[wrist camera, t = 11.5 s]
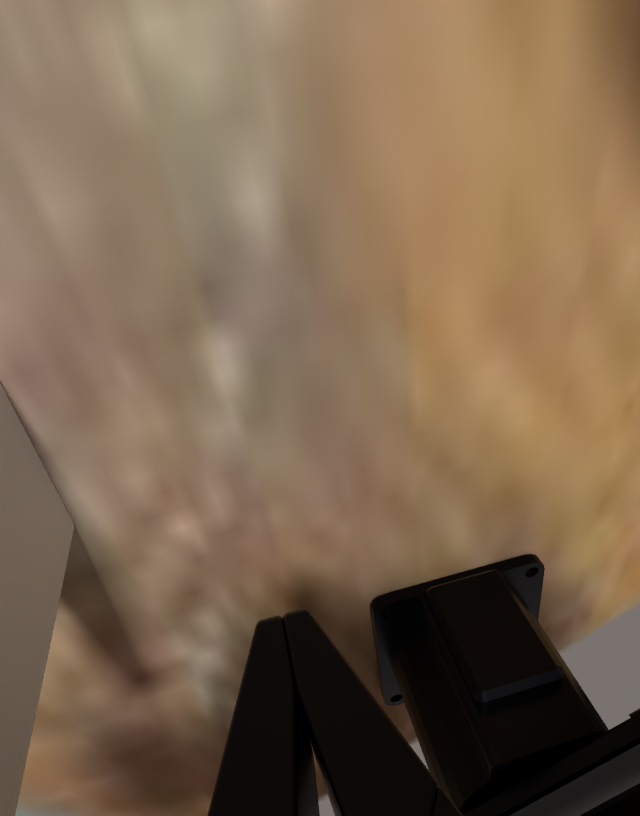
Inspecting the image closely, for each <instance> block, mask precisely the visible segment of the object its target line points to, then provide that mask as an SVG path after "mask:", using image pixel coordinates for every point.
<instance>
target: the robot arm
mask: <svg viewBox="0 0 640 816" xmlns="http://www.w3.org/2000/svg"><path fill="white" fill-rule="evenodd" d="M544 569H545V568H544V565H543V563H542V562H541V561H540V559H539V558H538V557H537V556H536V555H533V554H530V555H525V556H521V557H518V558H514V559H511V560H507V561H503V562H500V563H496V564H493V565H489V566H486V567H482V568H478V569H475V570H471V571H468V572H464V573H461V574H457V575H454V576H450V577H446V578H443V579H439V580H436V581H432V582H429V583H425V584H421V585H418V586H414V587H411V588H407V589H404V590H400V591H397V592H393V593H389V594H386V595H382V596H380V597H378V598H376V599H375V600H374V601H373V602H372V604H371V616H372V623H373V631H374V639H375V646H376V654H377V662H378V669H379V677H380V684H381V692H382V695H383V698H384V701H385V703H386V704H387V705H389V706H394V705H398V704H402V703H405V705H406V708H407V711H408V713H409V716H410V719H411V722H412V724H413V727H414V730H415V733H416V735H417V738H418V741H419V743H420V746H421V749H422V752H423V754H424V757H425V760H426V763H427V766H428V768H429V770H428V769H427V768H426V766H425V765H424V764H423V762H422V761H421V760H420V758H419V757H418V756H417V754H416V753H415V752H414V750H413V749H412V748H411V746H410V745H409V744H408V742H407V741H406V740H405V738H404V737H403V736H402V734H401V733H400V732H399V730H398V729H397V728H396V726H395V725H394V724H393V722H392V721H391V720H390V718H389V717H388V716H387V714H386V713H385V712H384V710H383V709H382V708H381V706H380V705H379V704H378V702H377V701H376V700H375V698H374V697H373V696H372V694H371V693H370V692H369V690H368V689H367V688H366V686H365V685H364V684H363V682H362V681H361V680H360V678H359V677H358V676H357V674H356V673H355V672H354V670H353V669H352V668H351V666H350V665H349V664H348V662H347V661H346V660H345V658H344V657H343V656H342V654H341V653H340V652H339V650H338V649H337V648H336V646H335V645H334V644H333V642H332V641H331V640H330V638H329V637H328V636H327V634H326V633H325V632H324V630H323V629H322V628H321V626H320V625H319V624H318V622H317V621H316V620H315V618H314V617H313V616H312V614H311V613H310V612H309V611H308V610H307V609H304V608H303V609H299V610H296V611H292V612H288V613H286V614H285V615H284V616H283V618H282V617H281V616H274V617H270V618H267V619H263V620H260V621H259V622H258V623H257V625H256V627H255V631H254V635H253V639H252V643H251V647H250V651H249V655H248V659H247V663H246V666H245V670H244V674H243V678H242V682H241V686H240V690H239V694H238V698H237V702H236V706H235V710H234V714H233V717H232V721H231V725H230V729H229V733H228V737H227V741H226V745H225V749H224V753H223V757H222V761H221V764H220V768H219V772H218V776H217V780H216V784H215V788H214V792H213V796H212V800H211V804H210V808H209V812H208V815H207V816H320V815H319V806H318V795H317V785H316V775H315V766H314V758H313V751H312V746H313V750H314V753H315V757H316V760H317V763H318V766H319V769H320V772H321V775H322V778H323V781H324V784H325V787H326V790H327V793H328V796H329V799H330V802H331V805H332V808H333V811H334V814H335V816H640V709H638V710H636V711H634V712H633V713H631V714H629V716H630V717H631V718H630V719H628V720H626V721H625V722H623V723H621V724H619V725H617V726H616V727H614V728H612V729H610V730H608V728H607V727H606V725H605V723H604V722H603V720H602V719H601V717H600V716H599V714H598V713H597V711H596V710H595V708H594V706H593V705H592V703H591V702H590V700H589V699H588V697H587V696H586V694H585V693H584V691H583V690H582V688H581V687H580V685H579V684H578V682H577V680H576V679H575V677H574V676H573V674H572V673H571V671H570V670H569V668H568V667H567V665H566V663H565V662H564V660H563V659H562V657H561V656H560V654H559V653H558V651H557V650H556V648H555V647H554V645H553V644H552V642H551V640H550V639H549V637H548V636H547V634H546V633H545V631H544V630H543V628H542V627H541V625H540V624H539V622H538V615H539V607H540V600H541V592H542V584H543V577H544ZM310 739H311V740H310ZM311 743H312V745H311ZM429 771H430V772H429Z"/></svg>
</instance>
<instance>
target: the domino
mask: <svg viewBox="0 0 640 816" xmlns="http://www.w3.org/2000/svg"><path fill="white" fill-rule="evenodd" d="M74 526H75V525H74V523H73V521H72V519H71V517H70V515H69V514H68V512H67V510H66V508H65V506H64V504H63V502H62V500H61V498H60V496H59V494H58V492H57V490H56V489H55V487H54V485H53V483H52V481H51V479H50V477H49V475H48V473H47V471H46V469H45V467H44V466H43V464H42V462H41V460H40V458H39V456H38V454H37V452H36V450H35V448H34V446H33V444H32V443H31V441H30V439H29V437H28V435H27V433H26V431H25V429H24V427H23V425H22V423H21V421H20V420H19V418H18V416H17V414H16V412H15V410H14V408H13V406H12V404H11V402H10V400H9V398H8V397H7V395H6V393H5V391H4V389H3V387H2V385H1V383H0V816H15V813H16V808H17V803H18V798H19V793H20V788H21V784H22V779H23V774H24V769H25V764H26V759H27V754H28V750H29V745H30V740H31V735H32V730H33V725H34V720H35V716H36V711H37V706H38V701H39V696H40V691H41V687H42V682H43V677H44V672H45V667H46V662H47V657H48V653H49V648H50V643H51V638H52V633H53V628H54V623H55V619H56V614H57V609H58V604H59V599H60V594H61V590H62V585H63V580H64V575H65V570H66V565H67V560H68V556H69V551H70V546H71V541H72V536H73V531H74Z"/></svg>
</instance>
